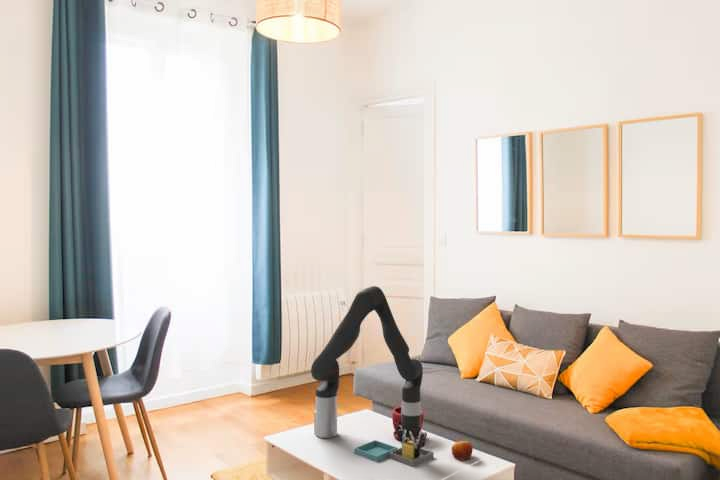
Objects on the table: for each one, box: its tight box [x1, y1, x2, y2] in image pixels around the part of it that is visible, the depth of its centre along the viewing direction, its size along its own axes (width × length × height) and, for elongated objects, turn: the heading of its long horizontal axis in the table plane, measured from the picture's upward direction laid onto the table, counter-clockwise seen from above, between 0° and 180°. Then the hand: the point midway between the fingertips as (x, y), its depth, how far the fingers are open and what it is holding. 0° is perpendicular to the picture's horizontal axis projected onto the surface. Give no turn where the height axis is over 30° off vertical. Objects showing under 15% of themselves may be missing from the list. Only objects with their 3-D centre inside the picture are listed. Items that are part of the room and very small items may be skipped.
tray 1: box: [353, 439, 399, 462], centre depth 238 cm, size 12×12×2 cm
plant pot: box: [391, 406, 424, 441], centre depth 255 cm, size 13×13×12 cm
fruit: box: [451, 440, 474, 461], centre depth 233 cm, size 8×8×8 cm
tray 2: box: [388, 446, 435, 468], centre depth 233 cm, size 12×12×2 cm
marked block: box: [401, 441, 420, 460], centre depth 234 cm, size 5×5×5 cm
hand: (411, 455), depth 234 cm, fingers closed on marked block, 5 cm apart
